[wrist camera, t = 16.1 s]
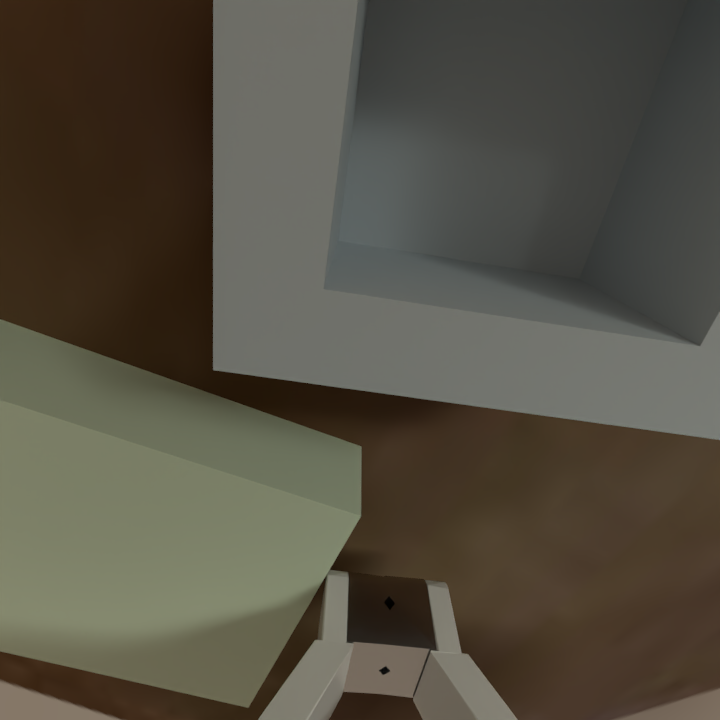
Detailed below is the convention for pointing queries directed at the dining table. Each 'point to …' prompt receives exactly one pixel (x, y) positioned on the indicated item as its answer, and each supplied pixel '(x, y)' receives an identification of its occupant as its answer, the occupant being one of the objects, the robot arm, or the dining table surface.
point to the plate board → (158, 522)
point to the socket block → (473, 203)
